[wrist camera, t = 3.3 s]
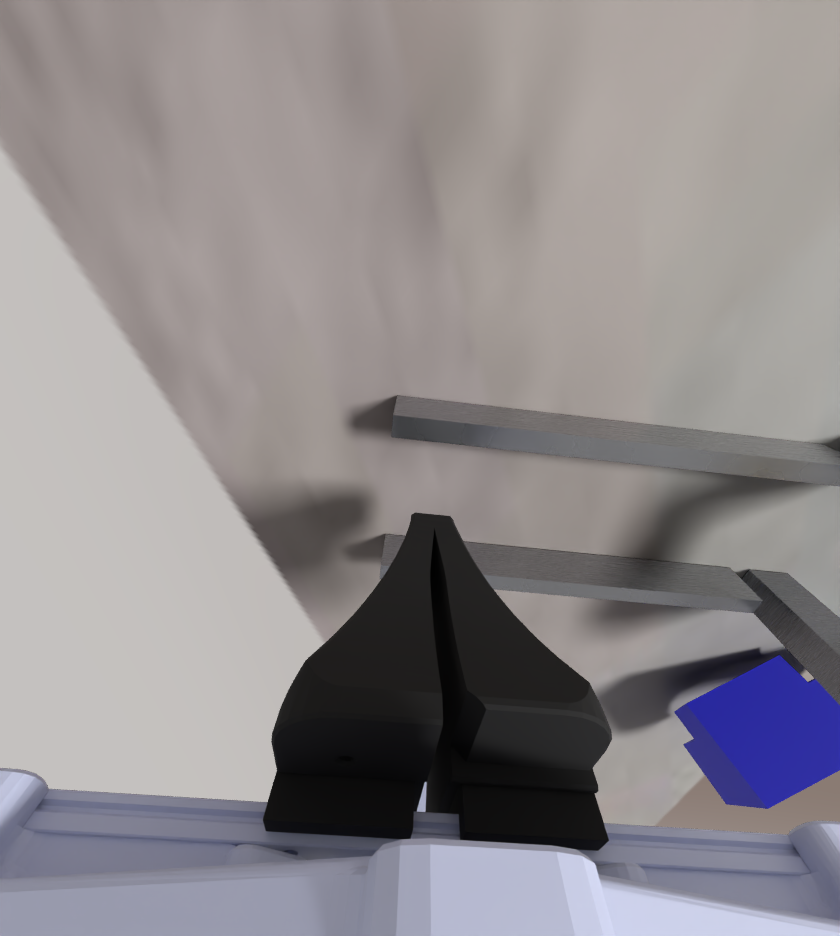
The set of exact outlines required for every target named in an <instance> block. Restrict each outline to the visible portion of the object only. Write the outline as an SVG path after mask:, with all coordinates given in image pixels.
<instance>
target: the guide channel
mask: <svg viewBox="0 0 840 936" xmlns="http://www.w3.org/2000/svg"><path fill="white" fill-rule="evenodd" d="M391 437H395V438H404V439H413V440H422V441H432V442H441V443H450V444H459V445H468V446H477V447H486V448H495V449H504V450H513V451H523V452H532V453H541V454H550V455H559V456H568V457H577V458H586V459H595V460H605V461H614V462H623V463H632V464H641V465H650V466H659V467H668V468H677V469H687V470H696V471H705V472H714V473H723V474H732V475H741V476H750V477H759V478H768V479H778V480H787V481H796V482H805V483H814V484H823V485H832V486H840V452H838V451H836V450H834V449H832V448H830V447H827V446H825V445H823V444H815V443H806V442H797V441H789V440H780V439H771V438H763V437H754V436H745V435H737V434H728V433H719V432H711V431H702V430H693V429H684V428H676V427H667V426H658V425H650V424H641V423H632V422H624V421H615V420H606V419H598V418H589V417H580V416H572V415H563V414H554V413H545V412H537V411H528V410H519V409H511V408H502V407H493V406H485V405H476V404H467V403H459V402H450V401H441V400H432V399H424V398H415V397H406V396H398V395H397V399H396V404H395V408H394V413H393V422H392V434H391ZM404 539H405V536H399V535H389V534H385V540H384V547H383V554H382V561H381V569H380V579H382V578H383V576H384V575H385V573H386V572H387V570H388V568H389V567H390V565H391V563H392V562H393V560H394V558H395V557H396V555H397V553H398V551H399V549H400V547H401V545H402V543H403V541H404ZM464 544H465V546H466V548H467V550H468V551H469V553H470V555H471V556H472V558H473V560H474V561H475V563H476V565H477V566H478V568H479V569H480V571H481V572H482V574H483V575H484V577H485V578H486V580H487V581H488V583H489V584H490V585H491V587H492V588H493V589H497V590H508V591H519V592H530V593H540V594H551V595H562V596H573V597H584V598H595V599H606V600H616V601H627V602H638V603H649V604H660V605H671V606H682V607H693V608H703V609H714V610H725V611H736V612H747V613H753V612H754V611H755V610H756V609H757V608H758V606H759V605H760V604H761V603H762V602H763V601H762V600H761V599H760V598H759V597H758V596H757V595H756V594H755V592H754V591H753V590H752V589H751V588H750V587H749V586H748V585H747V584H746V583H745V582H744V581H743V580H742V579H741V578H740V577H739V576H738V575H737V574H736V573H735V572H734V571H733V570H732V569H731V568H727V567H717V566H706V565H696V564H686V563H676V562H665V561H655V560H645V559H635V558H624V557H614V556H604V555H594V554H583V553H573V552H563V551H553V550H542V549H532V548H522V547H512V546H501V545H491V544H481V543H471V542H464Z"/></svg>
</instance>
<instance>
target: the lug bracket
mask: <svg viewBox="0 0 840 936" xmlns="http://www.w3.org/2000/svg"><path fill="white" fill-rule="evenodd" d="M742 580H743V581H744V582H745V583H746V584H747V585H748V586H749V587H750V588H751V589H752V590H753V591H754V592H755V594H756V595H757V596H758V597H759V598H760V599H761V600H762V601H763V602H762V603H761V604H760V605H759V606H758V608H757V609H756V610H755V611H754V612H753V613H754V614H755V615H756V616H757V617H758V618H759V619H760V621H761V622H762V623H763V624H764V625H765V626H766V627H767V628H768V629H769V630H770V631H771V632H772V633H773V634H774V635H775V637H776V638H777V639H778V640H779V641H780V642H781V643H782V644H783V645H784V646H785V647H786V648H787V649H788V650H789V652H790V653H791V654H792V655H793V656H794V657H795V658H796V659H797V660H798V661H799V662H800V663H801V664H802V665H803V666H804V668H805V669H806V670H807V671H808V672H809V673H810V674H811V675H812V676H813V677H814V678H815V679H816V680H817V681H818V683H819V684H820V685H821V686H822V687H823V688H824V689H825V690H826V691H827V692H828V693H829V694H830V695H831V696H832V698H833V699H834V700H835V701H836V702H837V703H838V704H839V705H840V618H839V617H838V616H837V615H835V614H834V613H833V612H832V611H831V610H830V609H828V608H827V607H826V606H825V605H824V604H823V603H821V602H820V601H819V600H818V599H817V598H816V597H814V596H813V595H812V594H811V593H810V592H809V591H807V590H806V589H805V588H804V587H803V586H802V585H801V584H799V583H798V582H797V581H796V580H795V579H794V578H792V577H791V576H790V575H789V574H788V573H778V572H768V571H758V570H749V571H748V572H747V573H746V574H745V576H744V577H743V578H742Z"/></svg>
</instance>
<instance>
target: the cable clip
mask: <svg viewBox="0 0 840 936" xmlns="http://www.w3.org/2000/svg"><path fill="white" fill-rule="evenodd" d="M675 714H676V715H677V716H678V718H679V719H680V720H681V722H682V723H683V724H684V726H685V727H686V728H687V730H688V731H689V732H690V734H691V735H692V736H693V738H694V739H693V740H691V741H689V742H687V743H685V744H683V745H684V746H685V748H686V749H687V750H688V752H689V753H690V755H691V756H692V757H693V759H694V760H695V761H696V763H697V764H698V766H699V767H700V768H701V770H702V771H703V773H704V774H705V775H706V777H707V778H708V779H709V781H710V782H711V784H712V785H713V786H714V788H715V789H716V791H717V792H718V793H719V795H720V796H721V798H722V799H723V800H724V802H725V803H726V804H729V805H738V806H747V807H756V808H765V809H768V808H770V807H772V806H774V805H775V804H777V803H779V802H781V801H783V800H785V799H787V798H789V797H790V796H792V795H794V794H796V793H798V792H800V791H802V790H804V789H805V788H807V787H809V786H811V785H813V784H815V783H817V782H819V781H820V780H822V779H824V778H826V777H828V776H830V775H832V774H833V773H835V772H837V771H839V770H840V705H839V704H838V703H837V702H836V701H835V700H834V699H833V698H832V696H831V695H830V694H829V693H828V692H827V691H826V690H825V689H824V688H823V687H822V686H821V685H820V684H819V683H818V681H817V680H816V679H815V678H814V679H813V680H811V681H809V682H807V681H806V680H805V679H804V678H803V677H802V676H801V675H800V674H799V673H798V672H797V671H796V670H795V669H794V668H793V667H792V666H791V665H790V664H789V663H787V662H786V661H785V660H784V659H783V658H782V657H781V656H780V655H778V656H777V657H775V658H773V659H771V660H769V661H767V662H765V663H763V664H761V665H759V666H757V667H755V668H754V669H752V670H750V671H748V672H746V673H744V674H742V675H740V676H738V677H736V678H734V679H733V680H731V681H729V682H727V683H725V684H723V685H721V686H719V687H717V688H715V689H713V690H711V691H710V692H708V693H706V694H704V695H702V696H700V697H698V698H696V699H694V700H692V701H690V702H688V703H687V704H685V705H684V706H682V707H681V708H679V709H678V710H676V711H675Z"/></svg>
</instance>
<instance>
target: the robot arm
mask: <svg viewBox="0 0 840 936" xmlns="http://www.w3.org/2000/svg"><path fill="white" fill-rule="evenodd" d="M611 740H612V734H611V729H610V726H609V724H608V721H607V719H606V716H605V714H604V711H603V709H602V707H601V705H600V703H599V700H598V699H597V697H596V695H595V693H594V691H593V689H592V687H591V685H590V683H589V682H588V681H587V680H585V679H584V678H583V677H582V676H580V675H579V674H578V673H577V672H576V671H574V670H573V669H572V668H571V667H569V666H568V665H567V664H566V663H564V662H563V661H562V660H561V659H559V658H558V657H557V656H556V655H555V654H554V653H553V652H551V651H550V650H549V649H548V648H547V647H546V646H545V645H544V644H543V643H542V642H540V641H539V640H538V639H537V638H536V637H535V636H534V635H533V634H532V633H531V632H530V631H529V630H528V629H527V628H526V627H525V626H524V625H523V623H522V622H521V621H520V620H519V619H518V618H517V617H516V616H515V615H514V614H513V613H512V612H511V610H510V609H509V608H508V607H507V606H506V605H505V603H504V602H503V601H502V600H501V598H500V597H499V596H498V595H497V593H496V592H495V591H494V590H493V588H492V587H491V585H490V584H489V583H488V581H487V580H486V578H485V577H484V575H483V574H482V572H481V571H480V569H479V568H478V566H477V565H476V563H475V561H474V560H473V558H472V556H471V555H470V553H469V551H468V550H467V548H466V546H465V544H464V542H463V540H462V538H461V536H460V534H459V532H458V530H457V528H456V526H455V524H454V521H453V519H452V518H451V517H450V516H443V515H433V514H422V513H414V514H412V515H411V522H410V525H409V529H408V531H407V534H406V536H405V539H404V541H403V543H402V545H401V547H400V549H399V551H398V553H397V555H396V557H395V558H394V560H393V562H392V563H391V565H390V567H389V568H388V570H387V572H386V573H385V575H384V576H383V578H382V579H381V581H380V582H379V583H378V585H377V586H376V588H375V589H374V590H373V592H372V593H371V594H370V595H369V597H368V598H367V599H366V600H365V602H364V603H363V604H362V605H361V607H360V608H359V609H358V610H357V611H356V612H355V613H354V615H353V616H352V617H351V618H350V619H349V620H348V621H347V622H346V623H345V624H344V625H343V626H342V627H341V628H340V629H339V630H338V631H337V632H336V633H335V634H334V635H333V636H332V637H331V638H330V639H329V640H328V641H327V642H326V643H325V644H323V645H322V646H321V647H320V648H319V649H318V650H317V651H316V652H315V653H314V654H312V655H311V656H310V657H309V658H308V659H307V660H306V661H305V663H304V664H303V666H302V667H301V669H300V671H299V672H298V674H297V676H296V677H295V679H294V681H293V683H292V685H291V686H290V689H289V690H288V693H287V695H286V697H285V699H284V702H283V704H282V706H281V709H280V711H279V715H278V718H277V721H276V724H275V727H274V730H273V733H272V746H273V751H274V757H275V762H276V767H277V773H276V776H275V779H274V782H273V786H272V789H271V793H270V796H269V800H268V802H253V801H236V800H221V799H204V798H188V797H172V796H171V797H170V796H155V795H139V794H123V793H108V792H90V791H75V790H58V789H48V785H47V784H46V782H45V781H44V779H43V778H42V777H40V776H38V775H37V774H35V773H32V772H29V771H26V770H19V769H7V768H0V936H840V822H836V821H812V822H807V823H803V824H801V825H799V826H797V827H795V828H794V829H792V830H791V831H790V832H789V835H784V834H770V833H753V832H737V831H720V830H704V829H689V828H672V827H657V826H640V825H624V824H608V823H604V822H603V819H602V816H601V813H600V810H599V807H598V804H597V800H596V797H595V794H594V793H597V791H598V784H597V781H596V778H595V775H594V772H593V769H592V768H593V767H594V765H595V764H596V763H597V761H598V760H599V759H600V758H601V756H602V755H603V754H604V753H605V751H606V750H607V748H608V746H609V744H610V742H611Z"/></svg>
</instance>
